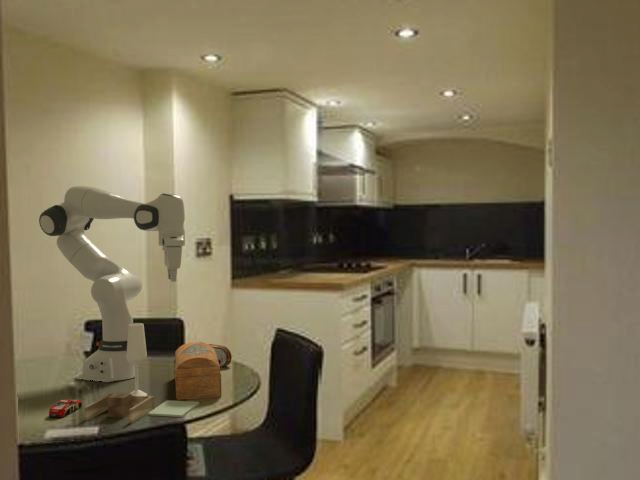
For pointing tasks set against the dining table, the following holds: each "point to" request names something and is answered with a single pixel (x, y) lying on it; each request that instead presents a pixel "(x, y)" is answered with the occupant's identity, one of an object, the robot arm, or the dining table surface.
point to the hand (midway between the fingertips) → (172, 280)
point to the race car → (64, 408)
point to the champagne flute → (136, 351)
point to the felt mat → (173, 408)
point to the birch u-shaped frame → (138, 410)
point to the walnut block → (119, 405)
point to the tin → (222, 354)
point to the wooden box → (197, 371)
